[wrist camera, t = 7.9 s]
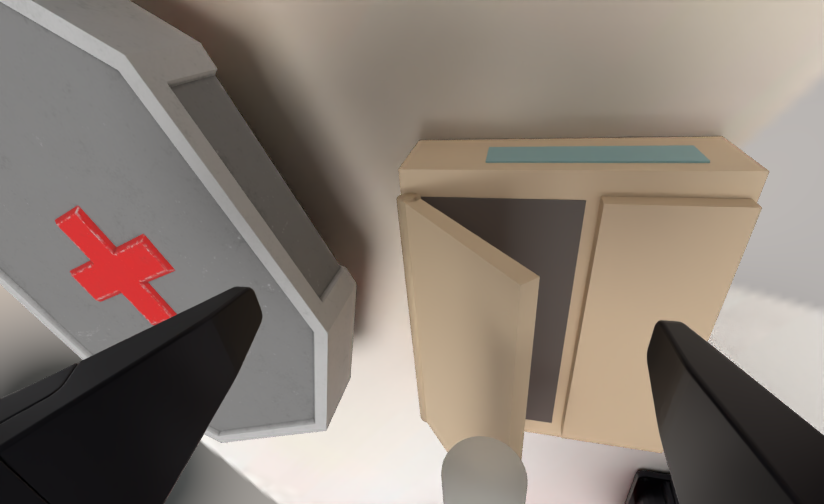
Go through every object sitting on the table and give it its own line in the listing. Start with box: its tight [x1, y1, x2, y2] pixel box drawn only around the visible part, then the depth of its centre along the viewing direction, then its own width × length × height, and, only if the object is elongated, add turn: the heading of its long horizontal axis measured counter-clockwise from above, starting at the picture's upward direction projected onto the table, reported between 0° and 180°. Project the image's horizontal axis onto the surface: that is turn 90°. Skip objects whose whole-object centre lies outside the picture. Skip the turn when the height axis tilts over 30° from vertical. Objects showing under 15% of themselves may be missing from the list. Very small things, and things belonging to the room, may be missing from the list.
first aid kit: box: [0, 0, 357, 443], centre depth 22 cm, size 18×8×25 cm
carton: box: [398, 136, 769, 453], centre depth 21 cm, size 16×13×5 cm
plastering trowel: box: [397, 193, 540, 504], centre depth 16 cm, size 14×11×5 cm
